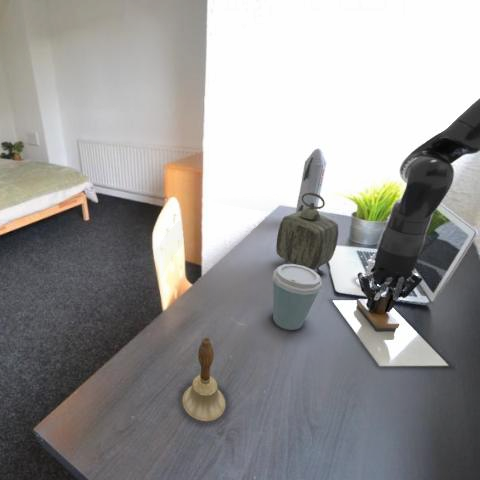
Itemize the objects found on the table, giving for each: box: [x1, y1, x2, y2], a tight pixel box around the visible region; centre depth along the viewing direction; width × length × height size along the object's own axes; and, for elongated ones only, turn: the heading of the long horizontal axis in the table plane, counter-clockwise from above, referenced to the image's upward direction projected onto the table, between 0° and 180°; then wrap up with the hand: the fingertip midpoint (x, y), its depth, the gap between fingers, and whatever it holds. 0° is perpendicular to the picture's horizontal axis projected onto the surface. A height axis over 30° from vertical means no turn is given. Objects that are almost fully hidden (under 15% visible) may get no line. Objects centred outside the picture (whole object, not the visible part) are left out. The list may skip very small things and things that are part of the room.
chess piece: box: [355, 253, 376, 288], centre depth 93 cm, size 5×5×10 cm
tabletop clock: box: [275, 193, 339, 276], centre depth 97 cm, size 14×9×25 cm, turn 34°
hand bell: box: [182, 337, 226, 422], centre depth 59 cm, size 8×8×16 cm
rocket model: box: [295, 148, 327, 213], centre depth 126 cm, size 14×7×30 cm, turn 125°
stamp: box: [356, 290, 400, 332], centre depth 80 cm, size 9×5×8 cm, turn 179°
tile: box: [331, 299, 450, 368], centre depth 78 cm, size 14×22×1 cm, turn 179°
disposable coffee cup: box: [272, 263, 323, 331], centre depth 78 cm, size 11×11×15 cm
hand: (378, 309), depth 80 cm, fingers closed on stamp, 3 cm apart
